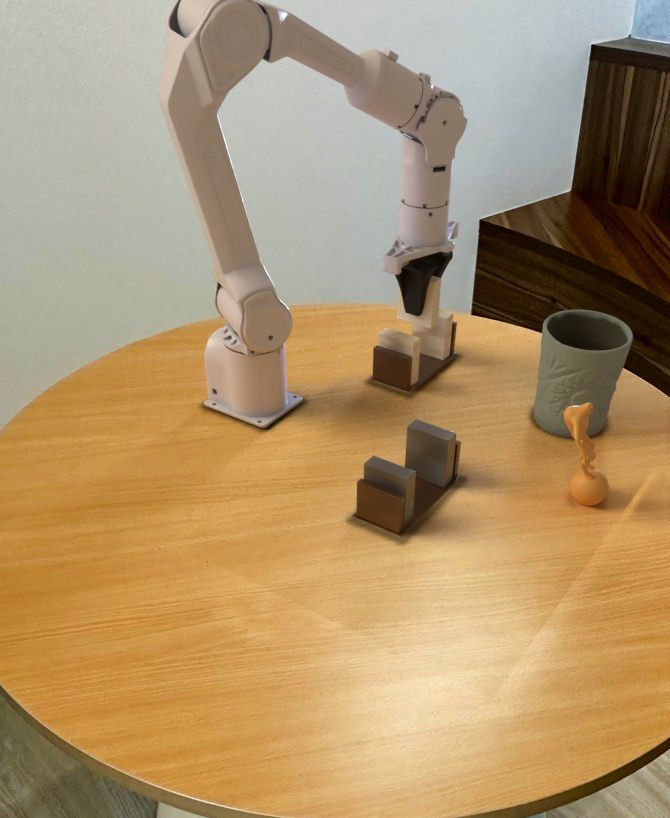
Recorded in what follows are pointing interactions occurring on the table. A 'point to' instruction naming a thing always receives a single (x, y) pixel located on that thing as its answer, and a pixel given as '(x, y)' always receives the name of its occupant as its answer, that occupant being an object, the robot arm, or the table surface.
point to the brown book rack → (409, 479)
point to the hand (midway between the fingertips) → (418, 310)
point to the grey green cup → (579, 367)
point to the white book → (430, 308)
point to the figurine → (585, 459)
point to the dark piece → (414, 353)
